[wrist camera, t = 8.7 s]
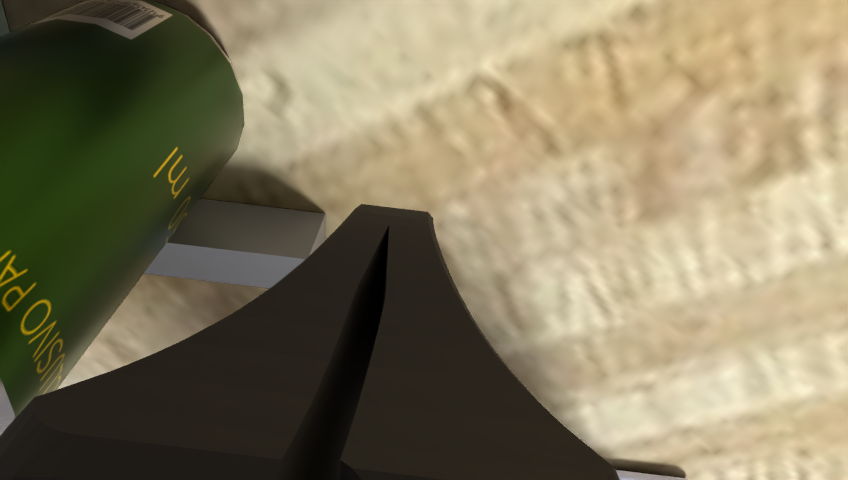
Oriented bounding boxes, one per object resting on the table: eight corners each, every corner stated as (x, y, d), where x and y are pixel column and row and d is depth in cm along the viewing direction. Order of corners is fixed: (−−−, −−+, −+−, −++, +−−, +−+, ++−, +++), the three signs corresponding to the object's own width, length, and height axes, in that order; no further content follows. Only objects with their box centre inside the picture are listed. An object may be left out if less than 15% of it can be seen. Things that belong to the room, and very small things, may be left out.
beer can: (30, -9, 16) (-680, 244, 6) (229, -18, 16) (-194, 242, 6) (99, 175, 19) (-309, 547, 9) (269, 172, 19) (33, 561, 9)
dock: (325, 244, 20) (307, 293, 18) (21, 209, 20) (-31, 252, 18) (329, -102, 15) (305, -91, 13) (-88, -152, 15) (-182, -149, 13)
